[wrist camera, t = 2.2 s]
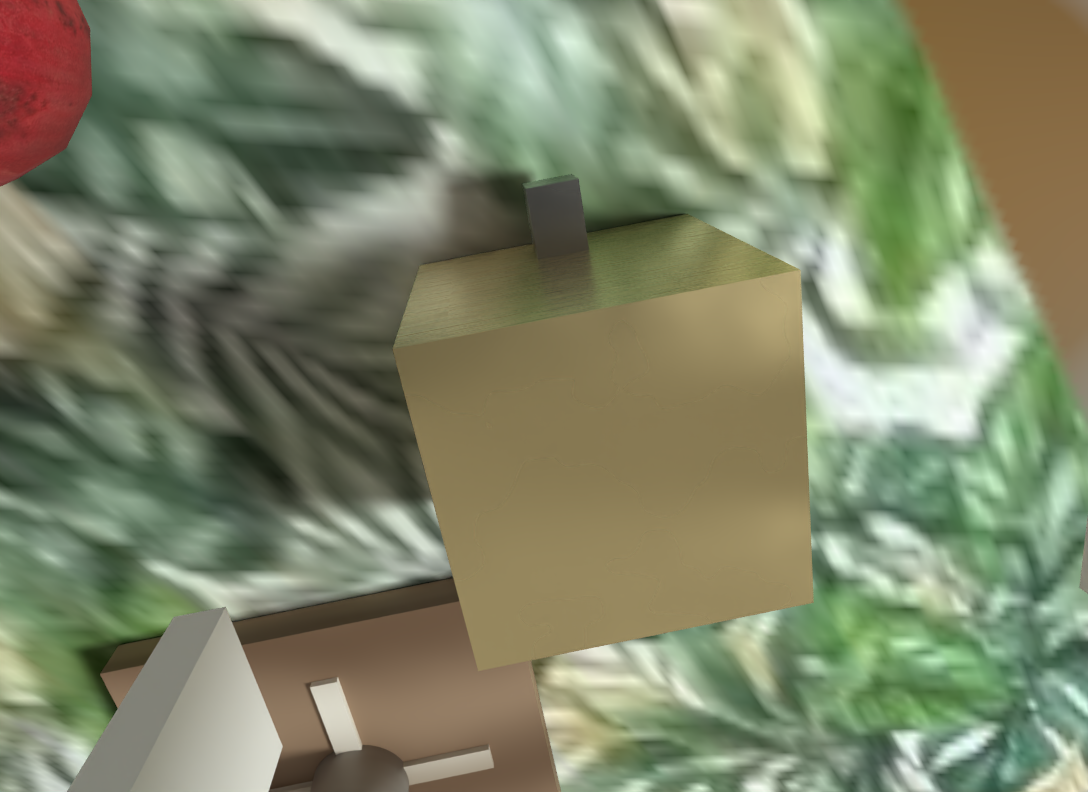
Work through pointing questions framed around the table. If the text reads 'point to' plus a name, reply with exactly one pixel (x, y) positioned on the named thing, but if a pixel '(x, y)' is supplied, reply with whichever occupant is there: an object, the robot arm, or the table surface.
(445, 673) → the flat board
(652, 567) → the block with peg
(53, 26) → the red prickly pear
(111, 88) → the table surface
